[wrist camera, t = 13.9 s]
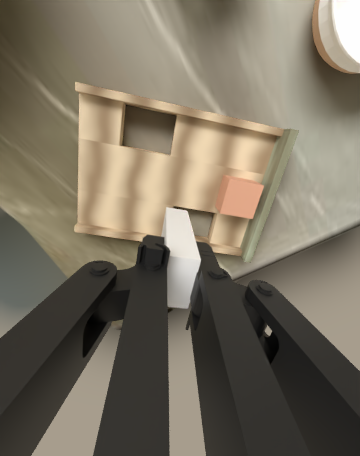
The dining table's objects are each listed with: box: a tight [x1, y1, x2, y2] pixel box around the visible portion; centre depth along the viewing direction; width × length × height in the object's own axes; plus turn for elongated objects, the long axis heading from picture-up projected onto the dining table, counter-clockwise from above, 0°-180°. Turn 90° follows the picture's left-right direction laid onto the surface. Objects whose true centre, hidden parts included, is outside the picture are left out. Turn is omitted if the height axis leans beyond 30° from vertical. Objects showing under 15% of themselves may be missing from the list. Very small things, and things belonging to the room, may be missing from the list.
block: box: [215, 175, 264, 219], centre depth 36 cm, size 6×6×4 cm
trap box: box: [74, 82, 299, 263], centre depth 36 cm, size 31×22×6 cm
